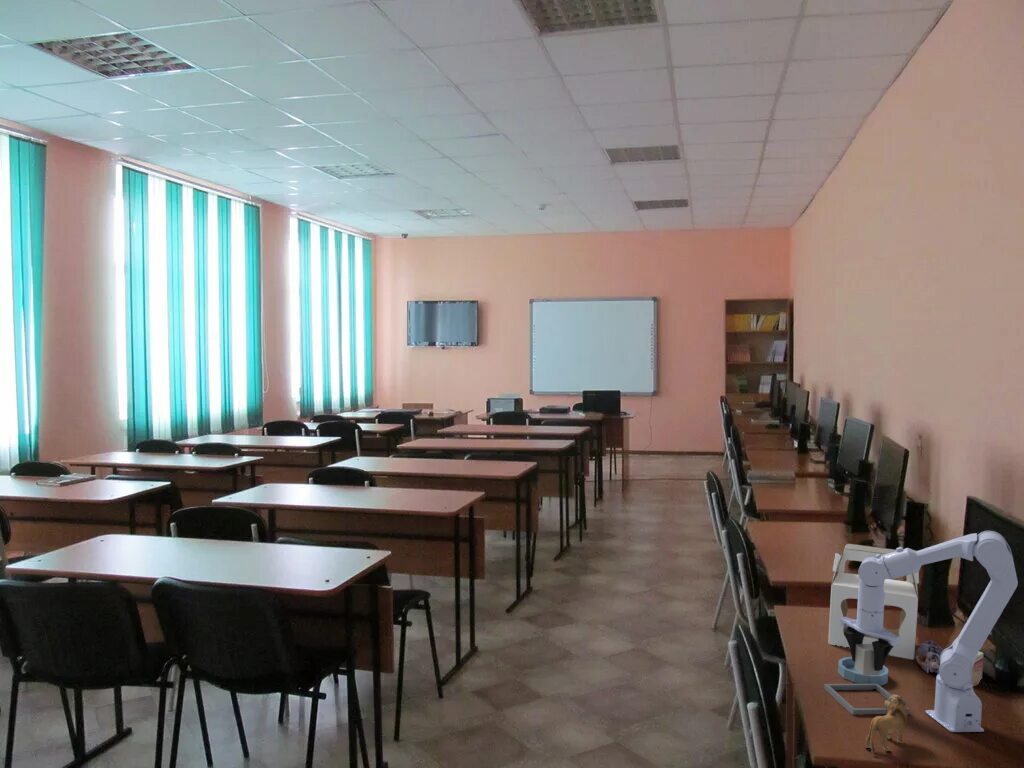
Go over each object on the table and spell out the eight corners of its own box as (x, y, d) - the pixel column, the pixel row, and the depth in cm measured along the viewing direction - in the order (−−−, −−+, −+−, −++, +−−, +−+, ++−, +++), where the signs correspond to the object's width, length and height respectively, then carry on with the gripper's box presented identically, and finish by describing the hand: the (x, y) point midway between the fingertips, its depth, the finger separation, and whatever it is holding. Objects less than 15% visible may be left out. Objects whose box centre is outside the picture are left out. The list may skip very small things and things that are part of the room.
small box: (973, 687, 198) (975, 656, 197) (955, 681, 201) (957, 650, 201) (982, 682, 201) (984, 652, 200) (964, 676, 204) (966, 646, 204)
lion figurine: (885, 728, 175) (887, 688, 175) (910, 737, 171) (913, 696, 171) (860, 751, 165) (862, 709, 164) (886, 761, 161) (889, 718, 160)
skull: (946, 680, 202) (948, 656, 202) (913, 673, 206) (914, 650, 205) (947, 664, 212) (948, 641, 212) (915, 657, 216) (916, 635, 216)
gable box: (827, 644, 224) (832, 546, 222) (830, 629, 236) (835, 536, 234) (915, 660, 214) (921, 558, 212) (914, 644, 226) (920, 547, 224)
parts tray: (909, 714, 182) (909, 709, 182) (852, 715, 181) (852, 709, 181) (877, 688, 196) (877, 683, 195) (824, 688, 194) (824, 683, 194)
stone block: (879, 675, 186) (880, 650, 186) (862, 675, 186) (864, 650, 186) (870, 668, 190) (871, 644, 190) (854, 668, 190) (855, 643, 190)
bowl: (897, 685, 197) (897, 675, 197) (852, 685, 196) (853, 676, 196) (872, 666, 209) (872, 657, 209) (829, 666, 208) (830, 657, 208)
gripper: (909, 616, 183) (905, 673, 184) (854, 597, 196) (851, 651, 196) (890, 620, 179) (886, 679, 180) (835, 601, 192) (832, 656, 193)
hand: (867, 665), depth 188 cm, fingers closed on stone block, 5 cm apart
